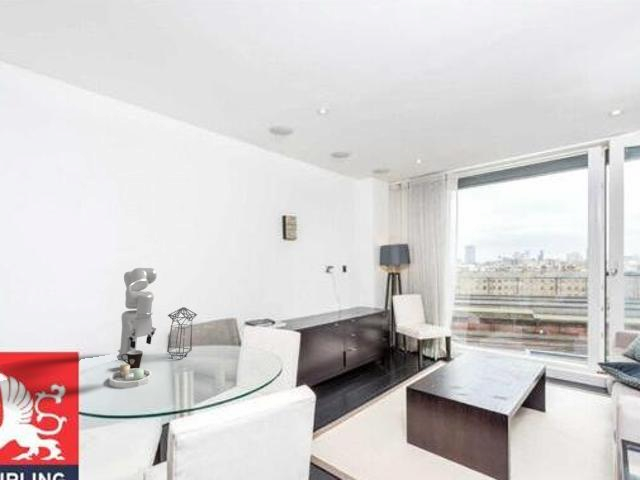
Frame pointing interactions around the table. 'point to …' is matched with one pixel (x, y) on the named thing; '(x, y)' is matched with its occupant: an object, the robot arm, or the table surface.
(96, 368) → the table surface
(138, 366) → the coffee mug
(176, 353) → the geometric lantern
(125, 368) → the birch bead
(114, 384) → the groove tray
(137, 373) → the sage bead
